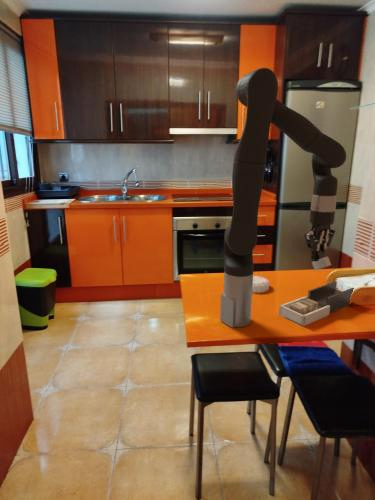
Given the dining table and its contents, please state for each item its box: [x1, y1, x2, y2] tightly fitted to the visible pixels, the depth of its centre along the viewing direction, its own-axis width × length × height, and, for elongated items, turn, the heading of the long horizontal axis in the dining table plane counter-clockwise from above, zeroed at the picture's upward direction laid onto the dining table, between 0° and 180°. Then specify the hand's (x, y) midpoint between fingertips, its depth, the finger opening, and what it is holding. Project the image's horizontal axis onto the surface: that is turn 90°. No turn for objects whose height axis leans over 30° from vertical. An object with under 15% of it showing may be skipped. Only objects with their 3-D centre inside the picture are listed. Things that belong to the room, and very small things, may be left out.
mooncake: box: [252, 275, 270, 294], centre depth 143 cm, size 12×12×4 cm
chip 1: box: [290, 302, 308, 315], centre depth 117 cm, size 4×4×4 cm
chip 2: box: [301, 298, 318, 313], centre depth 119 cm, size 4×4×4 cm
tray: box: [278, 295, 330, 327], centre depth 119 cm, size 14×10×4 cm
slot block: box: [307, 281, 355, 314], centre depth 126 cm, size 16×8×6 cm, turn 124°
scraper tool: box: [309, 243, 332, 271], centre depth 116 cm, size 2×5×9 cm, turn 34°
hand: (317, 259), depth 116 cm, fingers closed on scraper tool, 2 cm apart
